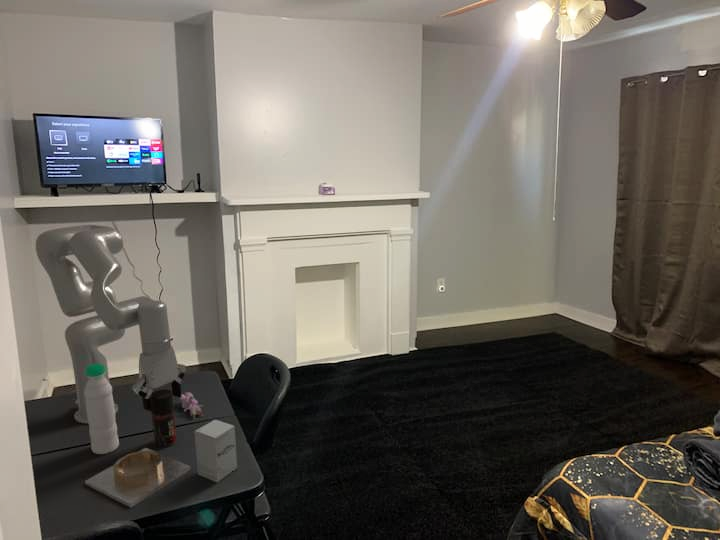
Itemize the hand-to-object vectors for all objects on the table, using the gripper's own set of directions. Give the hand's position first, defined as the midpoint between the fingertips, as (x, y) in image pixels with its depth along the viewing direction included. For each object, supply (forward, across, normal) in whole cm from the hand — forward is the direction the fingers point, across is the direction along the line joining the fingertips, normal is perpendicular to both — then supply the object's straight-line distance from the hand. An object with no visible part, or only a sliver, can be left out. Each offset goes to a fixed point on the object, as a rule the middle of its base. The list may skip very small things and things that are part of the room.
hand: (163, 403), depth 155 cm
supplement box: (+13, +3, +23) cm, 27 cm away
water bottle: (+12, +11, -13) cm, 21 cm away
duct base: (+13, +15, +7) cm, 21 cm away
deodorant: (+13, 0, -1) cm, 13 cm away
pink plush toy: (+12, -18, -10) cm, 24 cm away
